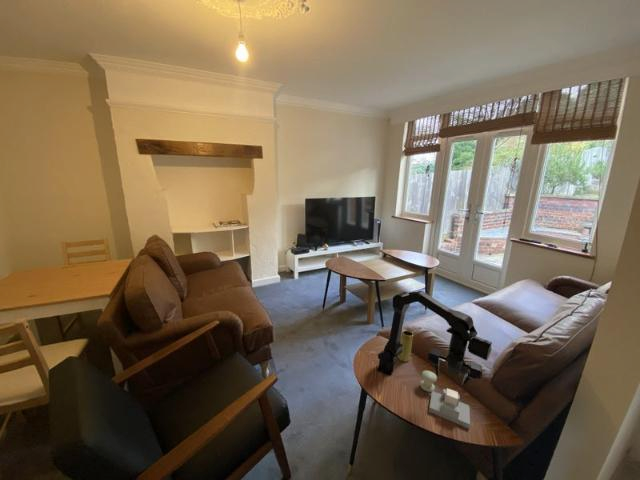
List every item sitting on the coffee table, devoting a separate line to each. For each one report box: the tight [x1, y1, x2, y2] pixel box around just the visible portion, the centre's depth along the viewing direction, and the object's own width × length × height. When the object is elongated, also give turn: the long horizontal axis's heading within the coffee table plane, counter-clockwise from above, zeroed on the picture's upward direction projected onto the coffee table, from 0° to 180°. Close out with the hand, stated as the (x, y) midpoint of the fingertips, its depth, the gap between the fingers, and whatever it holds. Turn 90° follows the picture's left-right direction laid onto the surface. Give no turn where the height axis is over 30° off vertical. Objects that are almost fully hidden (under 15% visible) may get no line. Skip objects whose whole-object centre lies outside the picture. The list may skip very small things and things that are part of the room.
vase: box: [397, 330, 414, 363], centre depth 134 cm, size 6×6×14 cm
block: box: [444, 388, 459, 407], centre depth 104 cm, size 4×4×6 cm
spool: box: [419, 370, 438, 393], centre depth 116 cm, size 6×6×6 cm
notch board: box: [428, 388, 471, 430], centre depth 104 cm, size 14×10×5 cm
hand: (449, 380), depth 105 cm, fingers open, 9 cm apart
